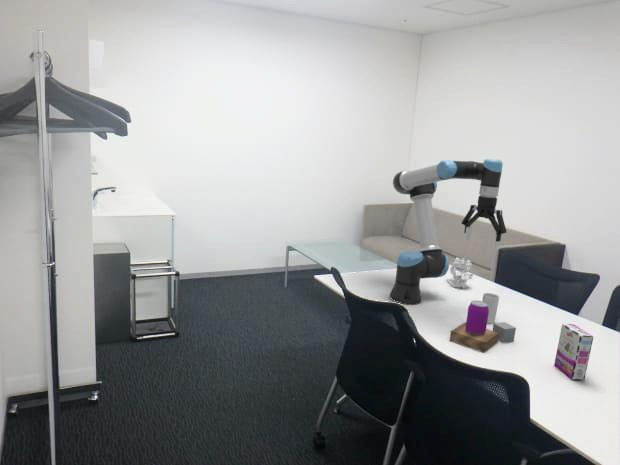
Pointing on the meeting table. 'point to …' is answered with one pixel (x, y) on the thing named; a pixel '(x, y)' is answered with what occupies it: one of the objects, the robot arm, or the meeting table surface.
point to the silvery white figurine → (460, 273)
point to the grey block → (504, 332)
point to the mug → (491, 305)
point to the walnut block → (474, 338)
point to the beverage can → (477, 317)
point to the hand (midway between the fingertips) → (480, 245)
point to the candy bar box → (573, 351)
